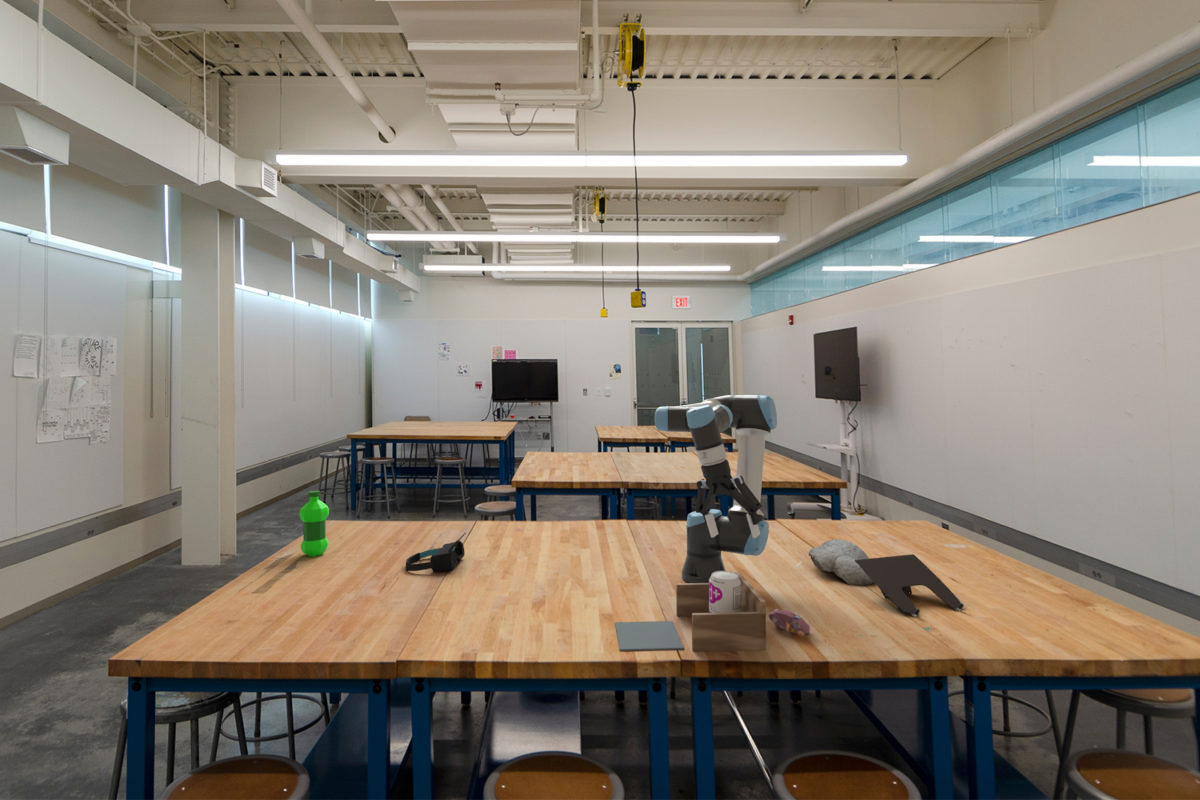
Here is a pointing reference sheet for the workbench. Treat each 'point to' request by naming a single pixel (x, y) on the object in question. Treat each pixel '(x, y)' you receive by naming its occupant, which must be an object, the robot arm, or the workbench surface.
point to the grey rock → (841, 560)
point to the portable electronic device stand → (905, 580)
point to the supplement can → (724, 592)
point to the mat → (648, 636)
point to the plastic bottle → (314, 525)
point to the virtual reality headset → (438, 558)
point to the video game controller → (789, 621)
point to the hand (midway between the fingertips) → (735, 535)
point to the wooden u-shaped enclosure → (723, 619)
